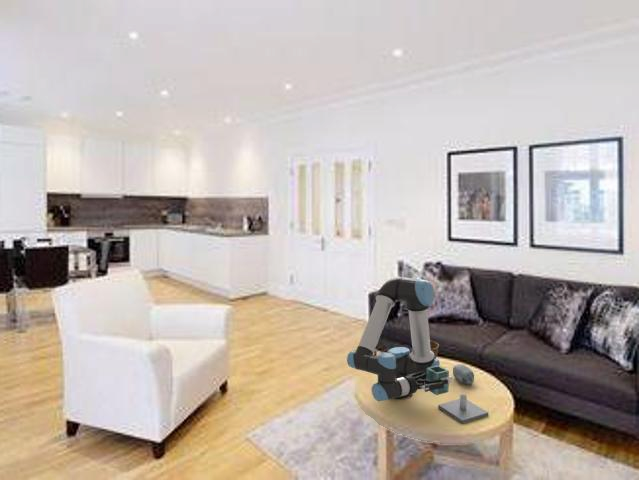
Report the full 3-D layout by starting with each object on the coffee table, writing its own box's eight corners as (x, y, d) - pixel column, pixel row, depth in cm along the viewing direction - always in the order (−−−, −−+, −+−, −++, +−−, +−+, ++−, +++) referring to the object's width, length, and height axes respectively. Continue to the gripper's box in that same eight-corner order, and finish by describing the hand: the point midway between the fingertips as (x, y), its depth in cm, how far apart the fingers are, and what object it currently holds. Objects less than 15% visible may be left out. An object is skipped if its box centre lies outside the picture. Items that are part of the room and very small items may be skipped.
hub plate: (438, 407, 212) (438, 389, 211) (463, 400, 219) (463, 383, 218) (462, 423, 198) (462, 404, 197) (488, 415, 205) (489, 396, 203)
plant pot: (406, 368, 258) (406, 342, 256) (427, 364, 264) (427, 338, 262) (422, 378, 245) (422, 350, 243) (443, 373, 251) (444, 346, 249)
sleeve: (425, 388, 201) (426, 367, 200) (437, 385, 204) (438, 365, 203) (436, 395, 195) (436, 373, 194) (448, 392, 198) (449, 370, 197)
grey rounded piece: (481, 380, 234) (471, 363, 235) (466, 389, 233) (457, 373, 233) (469, 375, 248) (460, 359, 248) (455, 384, 246) (446, 368, 247)
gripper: (391, 384, 201) (431, 375, 210) (419, 404, 183) (461, 392, 193) (391, 369, 200) (431, 360, 210) (420, 386, 182) (462, 376, 192)
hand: (445, 375), depth 201 cm, fingers closed on sleeve, 7 cm apart
